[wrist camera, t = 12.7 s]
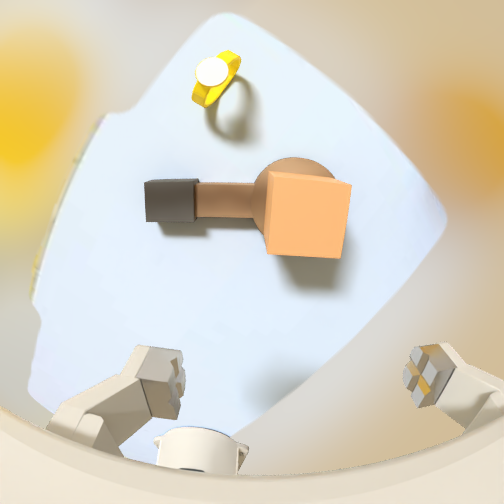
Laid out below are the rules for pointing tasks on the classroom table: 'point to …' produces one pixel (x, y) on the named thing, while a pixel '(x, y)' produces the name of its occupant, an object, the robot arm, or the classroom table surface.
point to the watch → (214, 77)
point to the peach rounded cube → (305, 215)
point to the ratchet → (219, 195)
